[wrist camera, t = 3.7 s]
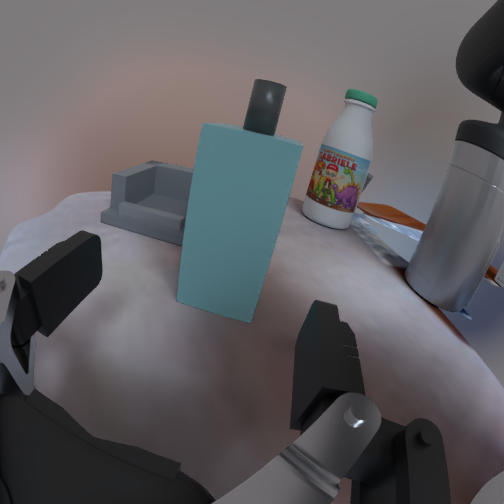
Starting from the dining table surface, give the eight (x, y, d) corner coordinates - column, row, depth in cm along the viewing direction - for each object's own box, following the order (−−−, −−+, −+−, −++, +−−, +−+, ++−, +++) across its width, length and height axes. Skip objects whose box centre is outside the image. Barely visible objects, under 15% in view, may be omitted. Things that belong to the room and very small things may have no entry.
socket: (193, 249, 24) (200, 200, 22) (101, 221, 24) (102, 177, 22) (221, 212, 33) (229, 177, 31) (148, 194, 33) (152, 160, 31)
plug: (250, 323, 17) (318, 88, 11) (176, 301, 17) (216, 67, 11) (260, 282, 22) (312, 99, 15) (199, 264, 22) (236, 81, 15)
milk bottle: (306, 205, 45) (339, 91, 36) (349, 222, 43) (386, 106, 34) (295, 216, 38) (334, 79, 29) (346, 236, 36) (390, 97, 27)
